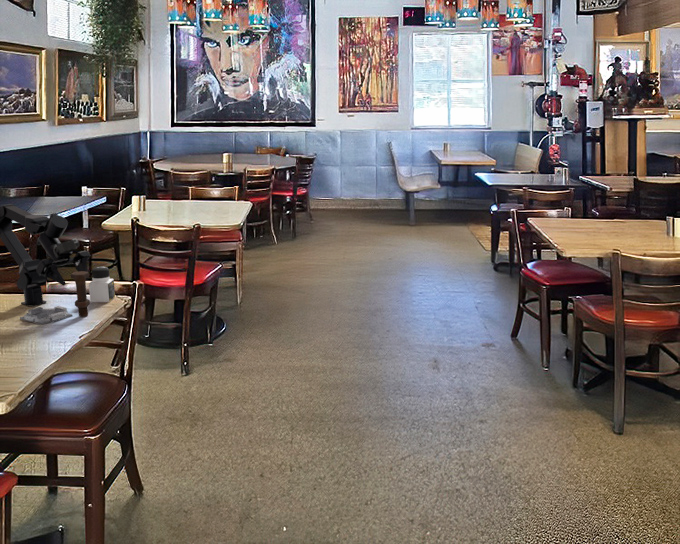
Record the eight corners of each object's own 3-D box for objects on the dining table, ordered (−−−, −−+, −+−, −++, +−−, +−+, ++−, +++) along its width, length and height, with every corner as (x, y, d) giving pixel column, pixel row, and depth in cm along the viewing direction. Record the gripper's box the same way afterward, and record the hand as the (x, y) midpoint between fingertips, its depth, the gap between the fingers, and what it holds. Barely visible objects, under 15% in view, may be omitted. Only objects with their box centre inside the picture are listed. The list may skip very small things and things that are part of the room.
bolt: (86, 318, 270) (82, 275, 267) (72, 318, 271) (68, 274, 268) (94, 313, 276) (90, 271, 272) (81, 313, 277) (77, 270, 273)
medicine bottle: (109, 302, 290) (107, 269, 287) (90, 302, 290) (87, 270, 288) (115, 297, 297) (112, 265, 294) (96, 297, 297) (93, 265, 294)
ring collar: (17, 319, 271) (16, 313, 270) (51, 310, 281) (50, 304, 281) (41, 325, 263) (40, 319, 263) (75, 315, 274) (74, 309, 273)
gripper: (37, 236, 264) (61, 272, 261) (84, 227, 279) (108, 262, 275) (25, 257, 271) (49, 293, 267) (72, 247, 285) (95, 281, 282)
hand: (76, 281), depth 273 cm, fingers open, 9 cm apart
